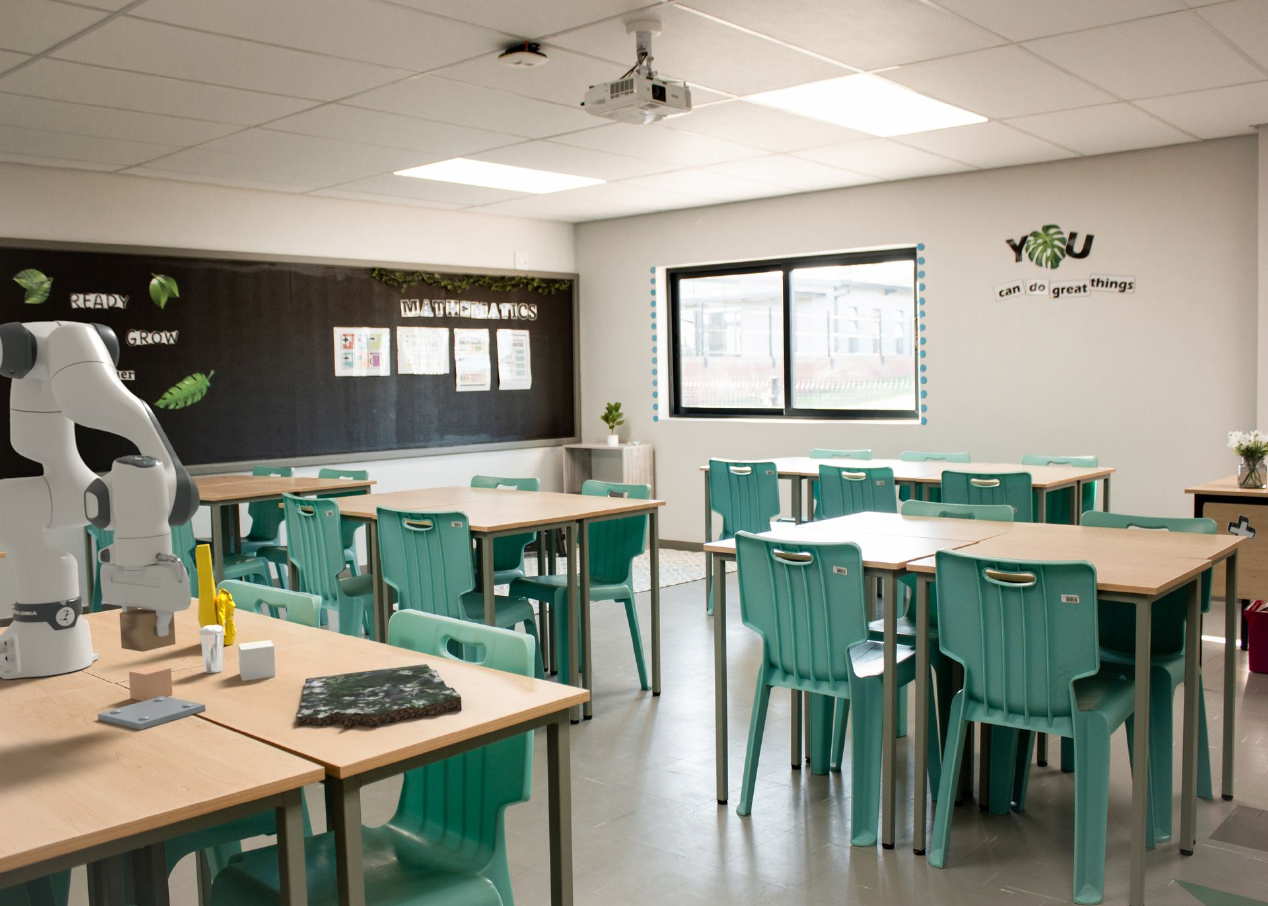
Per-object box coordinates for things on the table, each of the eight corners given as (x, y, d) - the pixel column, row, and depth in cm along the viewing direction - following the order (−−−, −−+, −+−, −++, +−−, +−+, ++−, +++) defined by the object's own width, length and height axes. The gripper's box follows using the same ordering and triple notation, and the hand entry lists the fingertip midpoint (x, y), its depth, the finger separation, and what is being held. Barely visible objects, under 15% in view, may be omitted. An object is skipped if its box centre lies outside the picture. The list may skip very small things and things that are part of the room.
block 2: (130, 698, 192) (128, 671, 192) (155, 691, 196) (154, 665, 196) (146, 702, 189) (145, 674, 189) (172, 695, 194) (171, 668, 193)
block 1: (121, 648, 179) (119, 612, 179) (154, 640, 184) (152, 606, 184) (142, 651, 176) (140, 615, 176) (175, 644, 181) (173, 609, 181)
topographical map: (426, 672, 207) (426, 656, 206) (465, 717, 176) (464, 699, 176) (286, 689, 197) (285, 673, 197) (301, 740, 167) (300, 721, 166)
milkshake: (221, 674, 207) (218, 623, 207) (196, 674, 208) (193, 623, 208) (234, 668, 212) (232, 618, 211) (210, 668, 213) (207, 618, 212)
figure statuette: (235, 650, 227) (229, 548, 226) (195, 654, 225) (190, 550, 224) (240, 633, 244) (235, 538, 243) (203, 636, 242) (198, 540, 241)
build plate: (98, 719, 179) (97, 712, 179) (163, 701, 189) (162, 694, 189) (140, 729, 173) (140, 722, 173) (205, 710, 183) (205, 703, 183)
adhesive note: (239, 674, 208) (238, 643, 207) (272, 670, 210) (270, 639, 210) (242, 681, 202) (240, 649, 202) (275, 676, 205) (274, 645, 204)
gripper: (198, 552, 177) (203, 635, 177) (126, 546, 188) (130, 624, 188) (163, 558, 171) (168, 643, 172) (91, 551, 182) (96, 632, 183)
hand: (148, 633), depth 180 cm, fingers closed on block 1, 6 cm apart
